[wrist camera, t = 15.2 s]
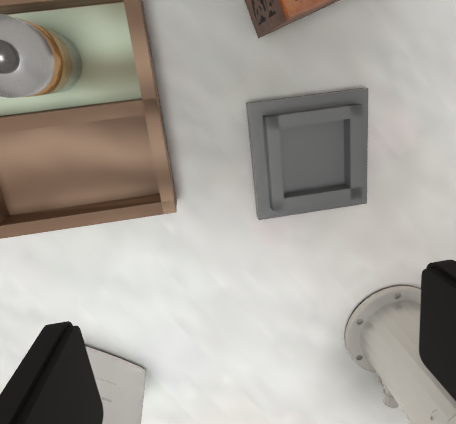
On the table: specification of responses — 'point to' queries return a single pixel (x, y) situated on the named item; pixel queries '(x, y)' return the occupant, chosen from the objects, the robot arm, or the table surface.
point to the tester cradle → (309, 152)
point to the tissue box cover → (281, 12)
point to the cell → (35, 60)
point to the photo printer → (118, 387)
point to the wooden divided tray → (86, 127)
